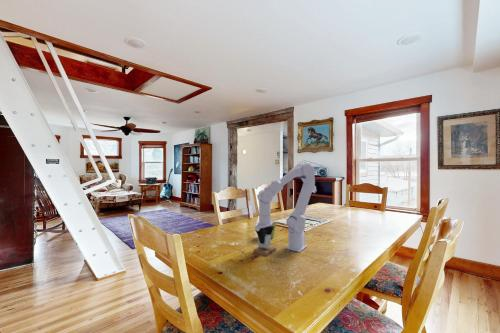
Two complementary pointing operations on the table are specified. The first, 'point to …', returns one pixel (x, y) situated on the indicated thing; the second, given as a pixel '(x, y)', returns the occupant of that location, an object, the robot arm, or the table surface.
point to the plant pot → (273, 230)
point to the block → (266, 242)
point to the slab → (264, 250)
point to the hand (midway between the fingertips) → (264, 241)
